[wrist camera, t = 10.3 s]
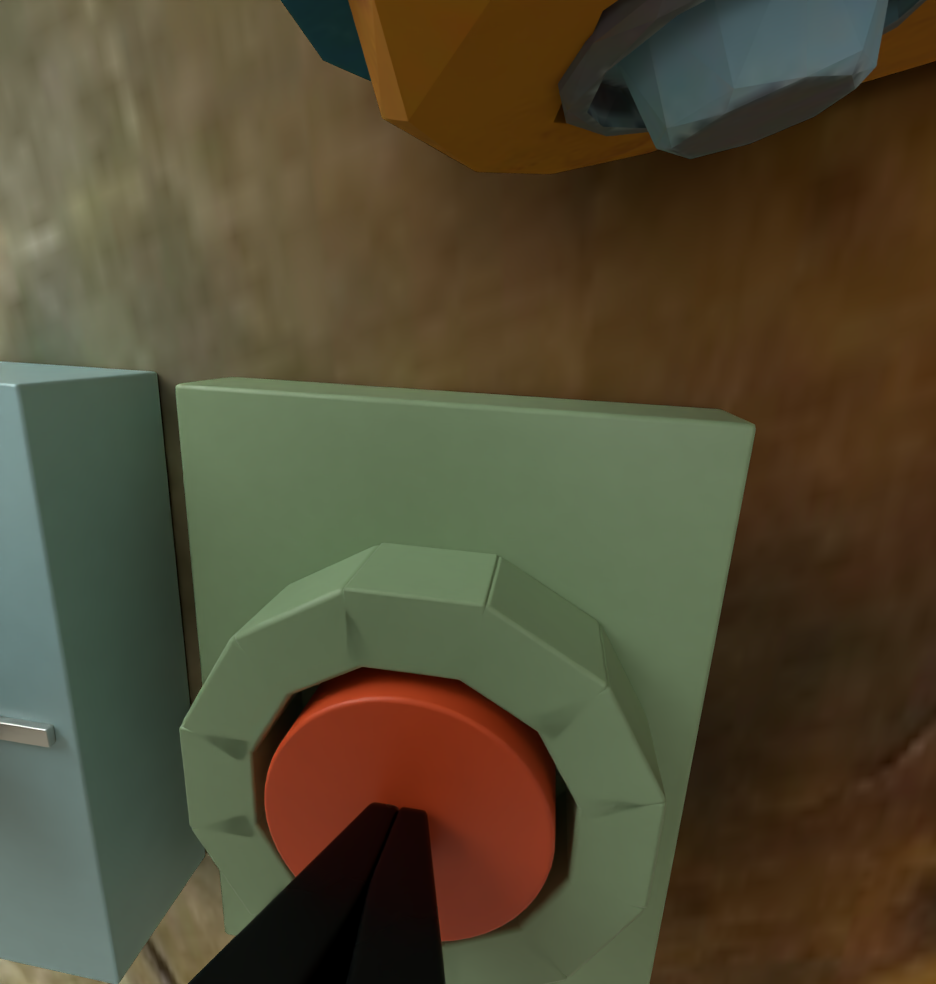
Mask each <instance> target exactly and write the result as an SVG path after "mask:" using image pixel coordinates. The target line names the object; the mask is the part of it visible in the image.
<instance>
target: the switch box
mask: <svg viewBox="0 0 936 984" xmlns="http://www.w3.org/2000/svg"><path fill="white" fill-rule="evenodd" d="M175 392H176V403H177V414H178V425H179V435H180V446H181V457H182V468H183V479H184V490H185V501H186V512H187V522H188V533H189V544H190V555H191V566H192V577H193V588H194V599H195V609H196V620H197V631H198V642H199V653H200V664H201V675H202V686H203V687H202V688H201V690H200V692H199V693H198V695H197V697H196V699H195V700H194V702H193V704H192V706H191V707H190V709H189V711H188V713H187V714H186V716H185V718H184V720H183V723H182V725H181V726H180V729H179V731H180V740H181V749H182V759H183V768H184V777H185V787H186V796H187V805H188V814H189V824H190V827H192V831H193V832H194V834H195V835H196V837H197V838H198V839H199V841H200V842H201V844H202V845H203V847H204V848H205V850H206V851H207V852H208V854H209V855H210V857H211V858H212V860H213V861H214V863H215V864H216V865H217V867H218V868H219V870H220V881H221V892H222V903H223V914H224V925H225V932H226V933H227V934H230V935H235V936H236V935H238V934H239V933H240V932H241V931H242V930H243V929H244V928H245V927H246V926H247V925H248V924H249V923H250V922H251V921H252V920H253V919H254V918H255V917H256V916H257V915H258V914H259V913H260V912H261V911H262V910H263V909H264V908H265V907H266V906H267V905H268V904H269V903H270V902H271V901H272V900H273V899H274V898H275V897H276V896H277V895H278V894H279V893H280V892H281V891H282V890H283V889H284V888H285V887H286V886H287V885H288V884H289V883H290V882H291V881H292V880H293V879H294V878H295V876H294V874H293V873H292V872H291V870H290V869H289V868H288V866H287V865H286V864H285V862H284V860H283V859H282V857H281V855H280V853H279V852H278V850H277V848H276V846H275V843H274V841H273V839H272V836H271V834H270V830H269V827H268V823H267V820H266V812H265V805H264V796H265V783H266V777H267V772H268V768H269V766H270V763H271V760H272V757H273V755H274V753H275V752H276V750H277V748H278V746H279V744H280V743H281V741H282V740H283V738H284V737H285V735H286V734H287V732H288V731H289V730H290V728H291V727H292V725H293V724H294V722H295V721H296V719H297V718H298V716H299V715H300V713H301V712H302V710H303V709H304V707H305V706H306V704H307V703H308V702H309V700H310V699H311V697H312V696H313V694H314V693H315V691H316V690H317V688H318V687H319V685H320V684H321V683H322V682H325V681H328V680H330V679H333V678H335V677H338V676H340V675H343V674H345V673H348V672H351V671H353V670H356V669H358V668H361V667H367V668H375V669H382V670H390V671H397V672H404V673H412V674H419V675H427V676H434V677H442V678H449V679H457V680H460V681H462V682H463V683H465V684H466V685H468V686H469V687H471V688H472V689H474V690H475V691H477V692H478V693H480V694H482V695H483V696H485V697H486V698H488V699H489V700H491V701H492V702H494V703H495V704H497V705H498V706H500V707H501V708H503V709H504V710H506V711H507V712H509V713H510V714H512V715H513V716H515V717H516V718H518V719H519V720H521V721H522V722H524V723H525V724H527V725H528V726H530V727H531V728H533V729H534V730H536V731H537V732H538V733H539V735H540V737H541V738H542V740H543V742H544V744H545V746H546V748H547V750H548V752H549V753H550V755H551V757H552V759H553V761H554V763H555V765H556V829H555V853H554V858H553V863H552V867H551V869H550V872H549V875H548V877H547V880H546V882H545V884H544V885H543V887H542V889H541V890H540V892H539V894H538V895H537V897H536V898H535V899H534V900H533V901H532V903H531V904H530V905H529V906H528V907H527V908H526V909H525V910H524V911H523V912H522V913H520V914H519V915H518V916H517V917H516V918H514V919H513V920H511V921H510V922H508V923H506V924H505V925H503V926H501V927H499V928H497V929H495V930H493V931H490V932H488V933H485V934H482V935H479V936H475V937H472V938H467V939H461V940H455V941H441V944H442V953H443V962H444V972H445V981H446V984H650V978H651V973H652V968H653V963H654V958H655V952H656V947H657V942H658V937H659V932H660V926H661V921H662V916H663V911H664V905H665V900H666V895H667V890H668V885H669V879H670V874H671V869H672V864H673V859H674V853H675V848H676V843H677V838H678V832H679V827H680V822H681V817H682V812H683V806H684V801H685V796H686V791H687V786H688V780H689V775H690V770H691V765H692V760H693V754H694V749H695V744H696V739H697V733H698V728H699V723H700V718H701V713H702V707H703V702H704V697H705V692H706V687H707V681H708V676H709V671H710V666H711V661H712V655H713V650H714V645H715V640H716V634H717V629H718V624H719V619H720V614H721V608H722V603H723V598H724V593H725V588H726V582H727V577H728V572H729V567H730V562H731V556H732V551H733V546H734V541H735V535H736V530H737V525H738V520H739V515H740V509H741V504H742V499H743V494H744V489H745V483H746V478H747V473H748V468H749V462H750V457H751V452H752V447H753V442H754V436H755V431H756V428H755V425H754V424H752V423H750V422H748V421H746V420H744V419H741V418H739V417H737V416H735V415H733V414H730V413H728V412H726V411H724V410H721V409H709V408H694V407H679V406H664V405H649V404H634V403H619V402H604V401H589V400H574V399H558V398H543V397H528V396H513V395H498V394H483V393H468V392H453V391H438V390H423V389H407V388H392V387H377V386H362V385H347V384H332V383H317V382H302V381H287V380H272V379H257V378H241V377H227V378H219V379H211V380H203V381H195V382H187V383H180V384H178V385H176V388H175Z"/></svg>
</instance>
